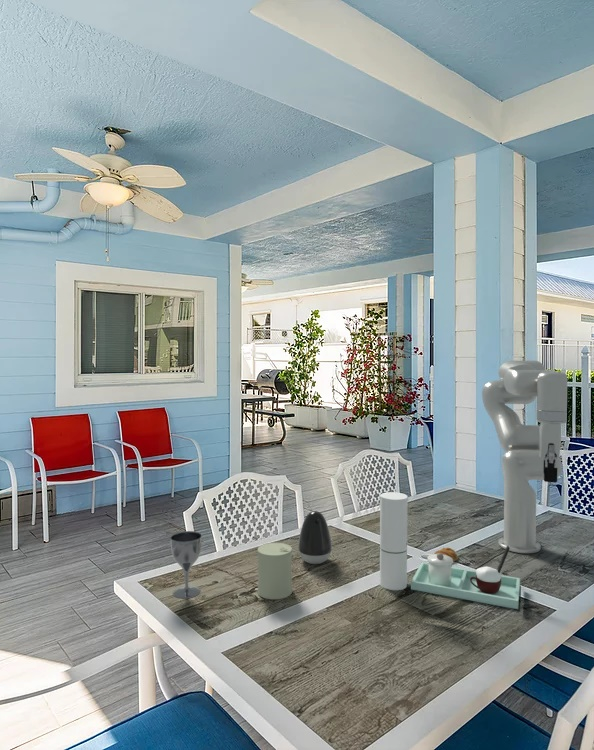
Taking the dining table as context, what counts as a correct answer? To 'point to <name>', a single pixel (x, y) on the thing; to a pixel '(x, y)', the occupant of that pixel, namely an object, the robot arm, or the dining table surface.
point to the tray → (469, 587)
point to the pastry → (448, 553)
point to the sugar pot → (440, 569)
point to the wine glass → (186, 558)
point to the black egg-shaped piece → (315, 539)
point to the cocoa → (489, 577)
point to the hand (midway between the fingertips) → (550, 477)
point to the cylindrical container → (393, 540)
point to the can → (274, 570)
